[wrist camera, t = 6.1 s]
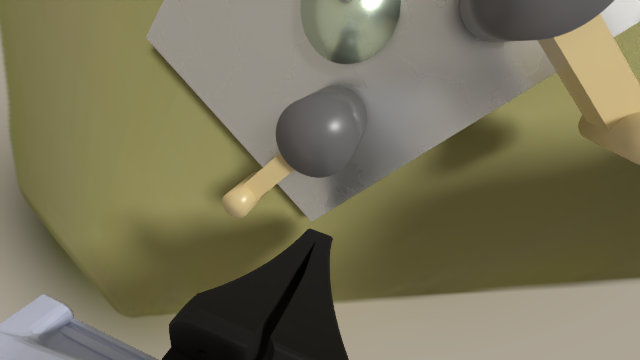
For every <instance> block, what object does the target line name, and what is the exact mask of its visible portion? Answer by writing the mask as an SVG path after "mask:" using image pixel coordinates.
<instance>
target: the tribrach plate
mask: <svg viewBox="0 0 640 360" xmlns="http://www.w3.org/2000/svg"><path fill="white" fill-rule="evenodd" d="M600 14H601V16H602V18H603V20H604V21H605V23H606V25H607V27H608V29H609V30H610V32H611V34H612V36H613V37H615V36H617V35H618V34H620V33H621V32H623V31H625V30H626V29H628V28H630V27H631V26H633V25H635V24H636V23H638V22H639V21H640V0H614V1H613V2H612V3H611V4H610V5H609V6H608V7H607V8H606V9H605V10H604V11H603V12H601V13H600ZM146 38H147V39H148V40H149V42H150V43H151V44H152V45H153V46H154V47H155V48H156V49H157V50H158V52H159V53H160V54H161V55H162V56H163V57H164V58H165V59H166V60H167V62H168V63H169V64H170V65H171V66H172V67H173V68H174V69H175V70H176V72H177V73H178V74H179V75H180V76H181V77H182V78H183V79H184V80H185V82H186V83H187V84H188V85H189V86H190V87H191V88H192V89H193V91H194V92H195V93H196V94H197V95H198V96H199V97H200V98H201V99H202V101H203V102H204V103H205V104H206V105H207V106H208V107H209V108H210V109H211V111H212V112H213V113H214V114H215V115H216V116H217V117H218V118H219V119H220V121H221V122H222V123H223V124H224V125H225V126H226V127H227V128H228V129H229V131H230V132H231V133H232V134H233V135H234V136H235V137H236V138H237V139H238V141H239V142H240V143H241V144H242V145H243V146H244V147H245V148H246V149H247V151H248V152H249V153H250V154H251V155H252V156H253V157H254V158H255V159H256V161H257V162H258V163H259V164H260V165H261V166H262V167H264V166H265V165H267V164H268V163H269V162H270V161H271V160H272V159H273V158H275V157H276V156H277V155H278V154H279V153H280V151H279V149H278V146H277V142H276V125H277V122H278V119H279V117H280V115H281V114H282V112H283V111H284V110H285V109H286V108H287V107H288V106H289V105H290V104H292V103H293V102H295V101H297V100H299V99H301V98H304V97H306V96H308V95H310V94H312V93H314V92H316V91H318V90H320V89H322V88H325V87H328V86H342V87H345V88H347V89H349V90H351V91H353V92H354V93H355V94H356V95H357V96H358V97H359V98H360V99H361V101H362V102H363V104H364V106H365V109H366V113H367V124H366V129H365V131H364V133H363V135H362V137H361V139H360V141H359V143H358V145H357V147H356V149H355V151H354V153H353V154H352V156H351V158H350V160H349V162H348V163H347V165H346V166H345V167H344V168H343V169H342V170H341V171H339V172H338V173H336V174H334V175H332V176H328V177H323V178H315V177H309V176H306V175H303V174H301V173H299V172H297V171H296V170H294V171H292V172H291V173H290V174H289V175H287V176H286V177H285V178H284V179H282V180H281V181H280V182H279V183H277V184H278V185H279V186H280V187H281V188H282V189H283V191H284V192H285V193H286V194H287V195H288V196H289V197H290V198H291V200H292V201H293V202H294V203H295V204H296V205H297V206H298V207H299V208H300V210H301V211H302V212H303V213H304V214H305V215H306V216H307V217H308V218H309V220H310V221H311V222H312V221H314V220H315V219H317V218H319V217H320V216H322V215H324V214H325V213H327V212H328V211H330V210H332V209H333V208H335V207H337V206H338V205H340V204H342V203H343V202H345V201H346V200H348V199H350V198H351V197H353V196H355V195H356V194H358V193H360V192H361V191H363V190H364V189H366V188H368V187H369V186H371V185H373V184H374V183H376V182H378V181H379V180H381V179H382V178H384V177H386V176H387V175H389V174H391V173H392V172H394V171H396V170H397V169H399V168H400V167H402V166H404V165H405V164H407V163H409V162H410V161H412V160H414V159H415V158H417V157H418V156H420V155H422V154H423V153H425V152H427V151H428V150H430V149H432V148H433V147H435V146H436V145H438V144H440V143H441V142H443V141H445V140H446V139H448V138H450V137H451V136H453V135H454V134H456V133H458V132H459V131H461V130H463V129H464V128H466V127H468V126H469V125H471V124H472V123H474V122H476V121H477V120H479V119H481V118H482V117H484V116H486V115H487V114H489V113H490V112H492V111H494V110H495V109H497V108H499V107H500V106H502V105H504V104H505V103H507V102H508V101H510V100H512V99H513V98H515V97H517V96H518V95H520V94H522V93H523V92H525V91H526V90H528V89H530V88H531V87H533V86H535V85H536V84H538V83H540V82H541V81H543V80H545V79H546V78H548V77H549V76H551V75H553V74H554V73H556V70H555V69H554V67H553V65H552V64H551V62H550V61H549V59H548V57H547V56H546V54H545V52H544V51H543V49H542V47H541V46H540V44H539V43H538V41H537V40H530V41H509V42H489V41H485V40H482V39H479V38H477V37H476V36H474V35H473V34H472V33H471V32H470V31H469V30H468V29H467V28H466V26H465V25H464V23H463V20H462V18H461V13H460V0H164V1H163V4H162V6H161V8H160V10H159V12H158V14H157V16H156V18H155V20H154V22H153V24H152V26H151V28H150V30H149V32H148V34H147V36H146Z"/></svg>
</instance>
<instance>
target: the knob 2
mask: <svg viewBox="0 0 640 360" xmlns="http://www.w3.org/2000/svg"><path fill="white" fill-rule="evenodd" d="M613 1H614V0H460V13H461V18H462V20H463V23H464V25H465V26H466V28H467V29H468V30H469V31H470V32H471V33H472V34H473V35H474V36H476V37H477V38H479V39H482V40H485V41H489V42H509V41H530V40H537V41H538V43H539V44H540V46H541V47H542V49H543V51H544V52H545V54H546V56H547V57H548V59H549V61H550V62H551V64H552V65H553V67H554V69H555V70H556V72H557V74H558V75H559V77H560V79H561V80H562V82H563V83H564V85H565V87H566V88H567V90H568V92H569V93H570V95H571V97H572V98H573V100H574V101H575V103H576V105H577V106H578V108H579V110H580V111H581V113H582V117H581V119H580V121H579V125H578V127H579V131H580V133H581V135H583V136H584V137H585V138H587V139H589V140H591V141H593V142H595V143H597V144H599V145H601V146H602V147H604V148H606V149H608V150H610V151H612V152H614V153H616V154H618V155H620V156H622V157H624V158H626V159H628V160H629V161H631V162H633V163H635V164H638V165H640V85H639V83H638V81H637V79H636V77H635V76H634V74H633V72H632V70H631V68H630V67H629V65H628V63H627V61H626V59H625V58H624V56H623V54H622V52H621V50H620V49H619V47H618V45H617V43H616V41H615V40H614V38H613V36H612V34H611V32H610V30H609V29H608V27H607V25H606V23H605V21H604V20H603V18H602V16H601V14H600V13H601V12H603V11H604V10H605V9H606V8H607V7H608V6H609V5H610V4H611V3H612V2H613Z"/></svg>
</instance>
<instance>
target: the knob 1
mask: <svg viewBox="0 0 640 360" xmlns="http://www.w3.org/2000/svg"><path fill="white" fill-rule="evenodd" d="M366 124H367V113H366V109H365V106H364V104H363V102H362V101H361V99H360V98H359V97H358V96H357V95H356V94H355V93H354V92H353V91H351V90H349V89H347V88H345V87H342V86H328V87H325V88H322V89H320V90H318V91H316V92H314V93H312V94H310V95H308V96H306V97H304V98H301V99H299V100H297V101H295V102H293V103H292V104H290V105H289V106H288V107H287V108H286V109H285V110H284V111H283V112H282V114H281V115H280V117H279V119H278V122H277V125H276V142H277V146H278V149H279V151H280V153H279V154H278V155H277V156H276V157H275V158H273V159H272V160H271V161H270V162H269V163H268V164H267V165H265V166H264V167H263V168H262V169H261V170H260V171H259V172H257V173H252V174H250V175H249V176H248V177H247V178H245V179H244V180H243V181H242V182H241V183H239V184H238V185H237V186H236V187H234V188H233V189H232V190H231V191H229V192H228V193H227V194H226V195H224V197H223V199H222V205H223V207H224V209H225V211H226V212H227V213H228V214H230V215H231V216H233V217H236V218H242V217H244V216H245V215H246V214H247V213H248V212H249V211H250V210H251V209H252V208H253V207H254V206H255V205H256V204H257V203H258V202H259V201H260V200H261V199H262V198H263V197H264V196H265V195H266V194H267V193H268V191H269V190H270V189H271V188H272V187H273V186H275V185H276V184H277V183H279V182H280V181H281V180H282V179H284V178H285V177H286V176H287V175H289V174H290V173H291V172H292V171H294V170H296V171H297V172H299V173H301V174H303V175H306V176H309V177H315V178H323V177H328V176H332V175H334V174H336V173H338V172H339V171H341V170H342V169H343V168H344V167H345V166H346V165H347V163H348V162H349V160H350V158H351V156H352V154H353V153H354V151H355V149H356V147H357V145H358V143H359V141H360V139H361V137H362V135H363V133H364V131H365V129H366Z"/></svg>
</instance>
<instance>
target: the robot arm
mask: <svg viewBox="0 0 640 360" xmlns="http://www.w3.org/2000/svg"><path fill="white" fill-rule="evenodd" d="M332 240H333V238H332V237H331V236H329V235H326V234H323V233H321V232H318V231H315V230H312V229H307V231H306V232H305V233H304V234H303V235H302V236H301V237H300V238H299V239H298V240H296V241H295V242H294V243H293V244H292V245H291V246H289V247H288V248H287V249H286V250H285V251H283V252H282V253H280V254H279V255H278V256H276V257H275V258H274V259H272V260H271V261H269V262H268V263H266V264H264V265H263V266H261V267H259V268H258V269H256V270H254V271H252V272H250V273H248V274H247V275H245V276H242V277H240V278H238V279H236V280H234V281H231V282H229V283H227V284H224V285H222V286H219V287H216V288H213V289H210V290H207V291H205V292H202V293H198V294H197V295H196V296H195V297H193V298H192V299H191V300H190V301H189V302H188V303H187V304H186V305H185V306H184V307H183V308H182V309H181V310H180V312H179V313H178V314H177V315H176V317H174V319H173V320H172V321H171V323H170V324H169V334H170V340H171V348H170V350H169V351H168V352H167V353H166V355H165V356H164V357H163V358H162V360H349V359H348V356H347V353H346V351H345V348H344V344H343V341H342V338H341V335H340V331H339V328H338V323H337V319H336V315H335V311H334V305H333V300H332V293H331V284H330V249H331V243H332ZM0 360H158V359H156V358H154V357H152V356H150V355H148V354H146V353H144V352H142V351H140V350H138V349H136V348H134V347H132V346H130V345H128V344H126V343H124V342H122V341H120V340H118V339H116V338H114V337H112V336H110V335H108V334H106V333H104V332H102V331H100V330H98V329H96V328H94V327H91V326H90V325H88V324H86V323H84V322H82V321H80V320H78V319H76V318H74V314H73V312H72V310H71V309H70V307H69V306H68V305H66V304H65V303H63V302H61V301H59V300H57V299H55V298H53V297H51V296H49V295H47V294H43V295H41V296H40V297H38V298H37V299H35V300H34V301H33V302H31V303H29V304H28V305H27V306H25V307H24V308H22V309H21V310H20V311H18V312H16V313H15V314H13V315H12V316H10V317H9V318H7V319H6V320H4V321H3V322H1V323H0Z"/></svg>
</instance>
